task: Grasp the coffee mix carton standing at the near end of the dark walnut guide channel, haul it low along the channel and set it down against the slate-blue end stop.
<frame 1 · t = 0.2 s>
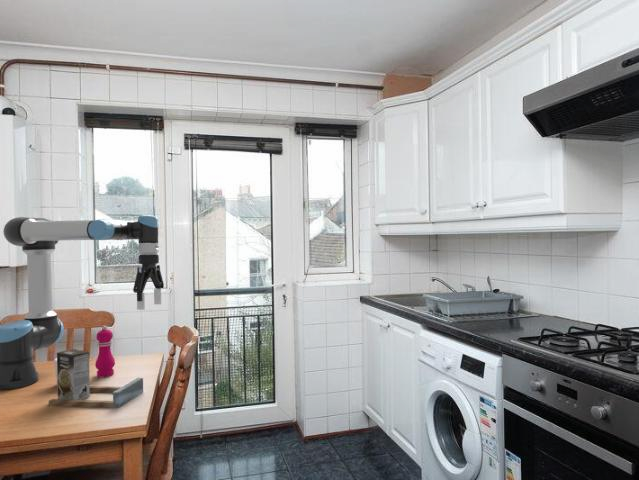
hand: (149, 306, 178), 28 cm above the table, fingers open, 13 cm apart
white cup: (67, 384, 170), on the table
coffee box: (73, 398, 154), on the table
guide channel: (95, 398, 153), on the table
pepper mill: (105, 375, 181), on the table
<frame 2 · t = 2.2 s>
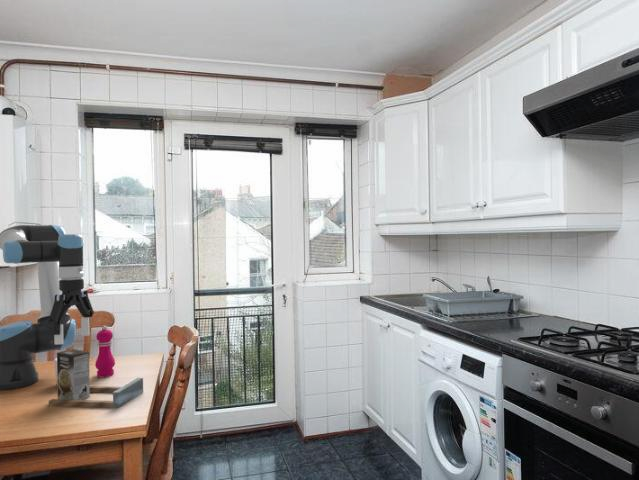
hand: (72, 339, 154), 20 cm above the table, fingers open, 13 cm apart
nothing on the table moved.
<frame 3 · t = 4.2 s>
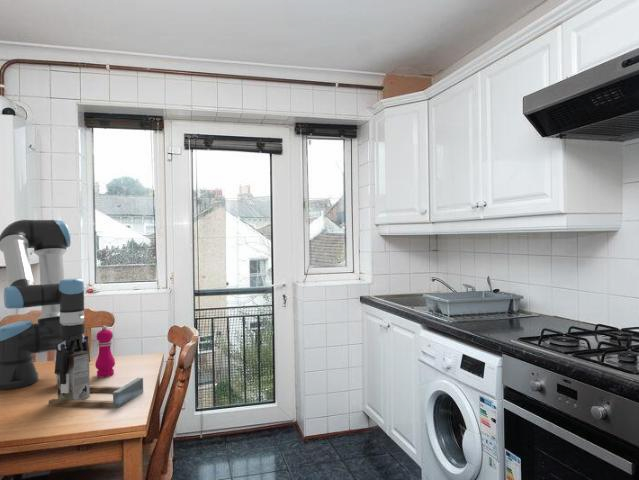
hand: (73, 388, 154), 3 cm above the table, fingers closed on coffee box, 8 cm apart
coffee box: (73, 398, 154), on the table, touching gripper
everything else where it was.
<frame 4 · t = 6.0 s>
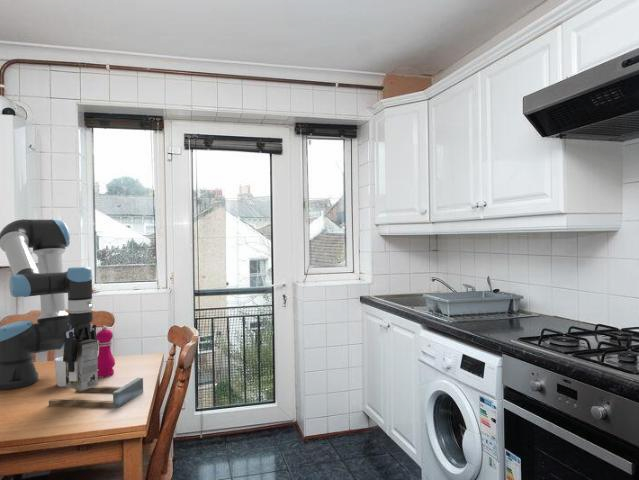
hand: (81, 376, 154), 7 cm above the table, fingers closed on coffee box, 8 cm apart
coffee box: (82, 386, 154), point 4 cm above the table, touching gripper
everything else where it was.
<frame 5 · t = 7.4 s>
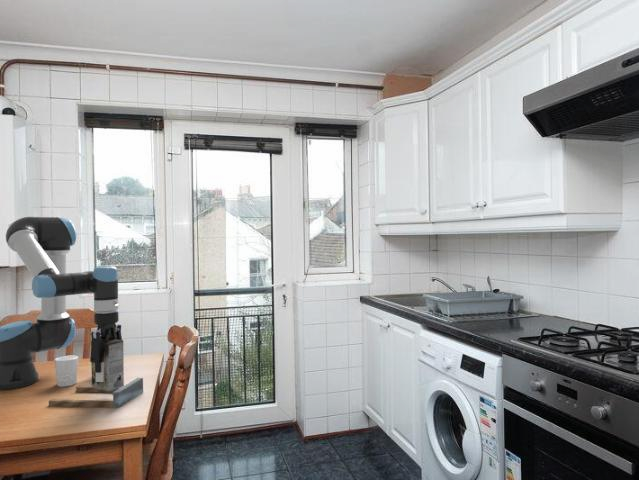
hand: (107, 377, 153), 7 cm above the table, fingers closed on coffee box, 8 cm apart
coffee box: (108, 387, 153), point 4 cm above the table, touching gripper
everything else where it was.
when the fingers open (4 cm above the table, at t = 9.0 s): coffee box stays where it is, on the table.
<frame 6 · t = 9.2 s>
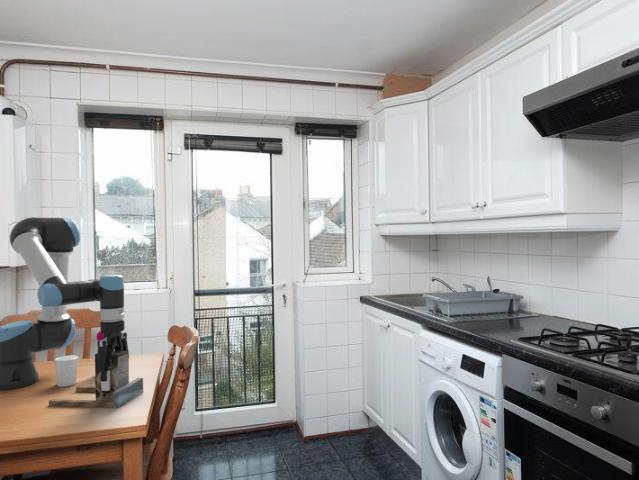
hand: (113, 385, 153), 5 cm above the table, fingers open, 8 cm apart
coffee box: (112, 399, 153), on the table
everything else where it was.
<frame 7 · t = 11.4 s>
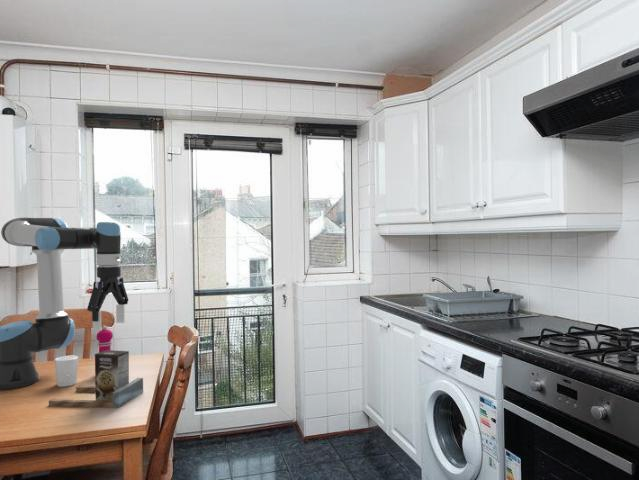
hand: (109, 326, 155), 24 cm above the table, fingers open, 13 cm apart
nothing on the table moved.
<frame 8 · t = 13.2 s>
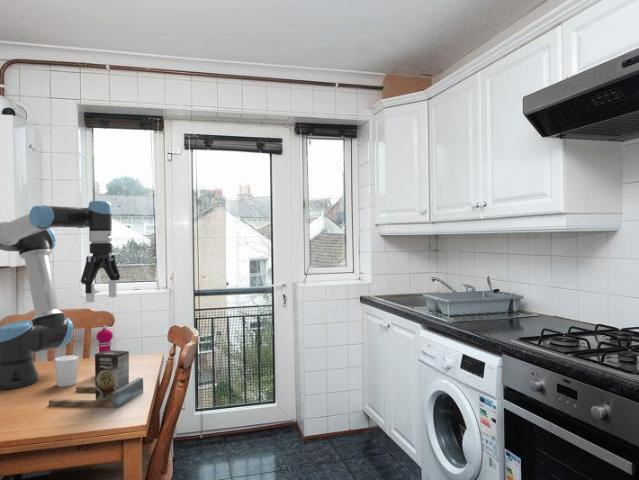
hand: (101, 299, 165), 33 cm above the table, fingers open, 13 cm apart
nothing on the table moved.
at the end: coffee box inside the target area (0.8 cm from its centre), on the table; coffee box tilted 0°; the gripper is holding nothing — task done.
